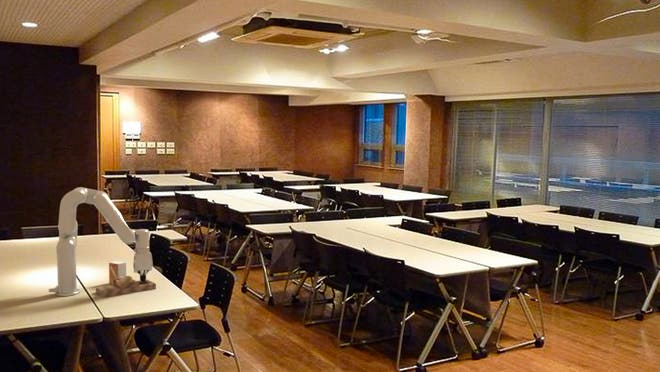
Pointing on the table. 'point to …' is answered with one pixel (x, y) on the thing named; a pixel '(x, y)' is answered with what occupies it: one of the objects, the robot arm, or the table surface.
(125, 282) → the sled
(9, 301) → the table surface
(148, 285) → the track
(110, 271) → the small box
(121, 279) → the maple cube
